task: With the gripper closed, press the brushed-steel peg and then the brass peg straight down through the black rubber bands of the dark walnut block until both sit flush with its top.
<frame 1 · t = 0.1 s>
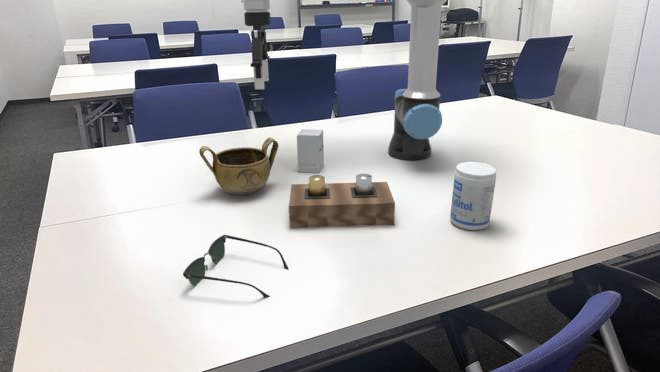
hand: (262, 85, 145), 28 cm above the table, fingers open, 13 cm apart
steel peg: (363, 186, 122), point 8 cm above the table, slide at 0.0 cm
supplement box: (311, 169, 157), on the table
ceramic bowl: (243, 191, 141), on the table
sunglasses: (242, 278, 98), on the table
walnut block: (340, 214, 124), on the table
brass peg: (317, 187, 121), point 8 cm above the table, slide at 0.0 cm
supplement tub: (469, 223, 119), on the table
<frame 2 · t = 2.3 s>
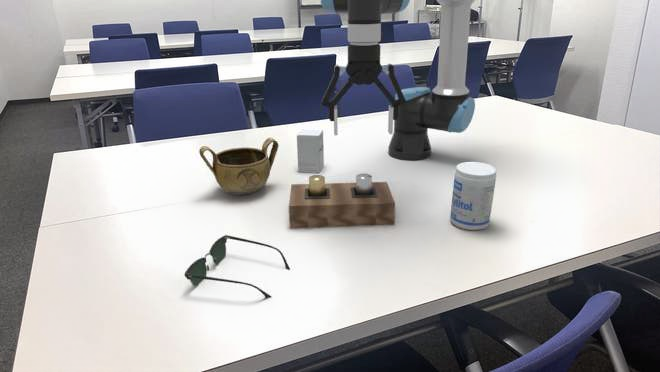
hand: (363, 133, 116), 22 cm above the table, fingers open, 13 cm apart
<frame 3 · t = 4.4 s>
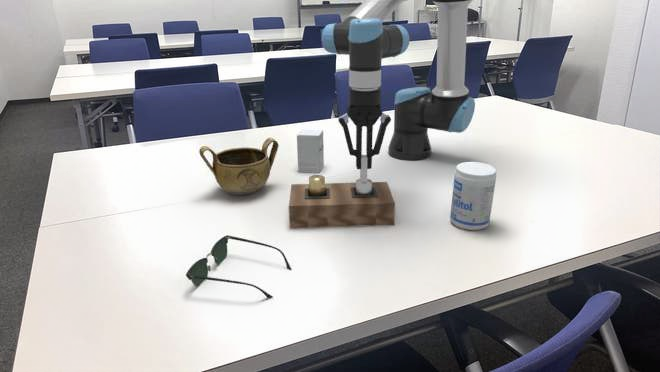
hand: (363, 180, 121), 9 cm above the table, fingers closed
steel peg: (363, 191, 122), point 6 cm above the table, slide at 1.4 cm, touching gripper
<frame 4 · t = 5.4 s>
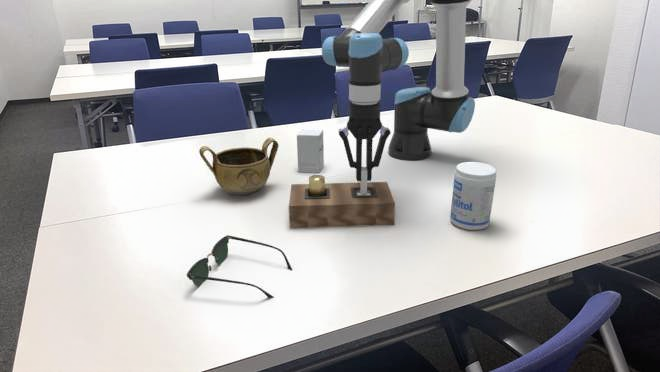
hand: (363, 192, 122), 6 cm above the table, fingers closed
steel peg: (363, 202, 123), point 3 cm above the table, slide at 4.5 cm, touching gripper
everything else where it was.
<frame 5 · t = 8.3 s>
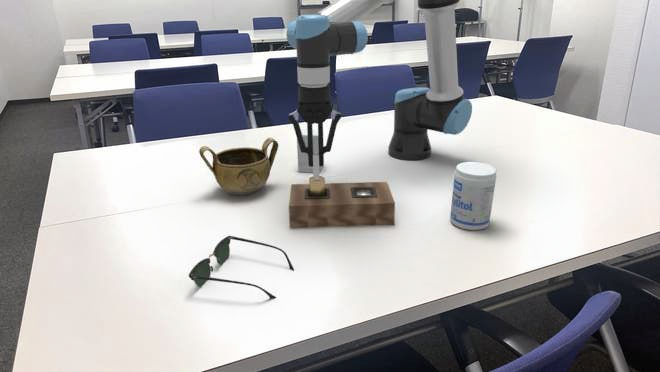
hand: (316, 177, 120), 10 cm above the table, fingers closed
steel peg: (363, 202, 123), point 3 cm above the table, slide at 4.5 cm
brass peg: (317, 188, 121), point 7 cm above the table, slide at 0.3 cm, touching gripper
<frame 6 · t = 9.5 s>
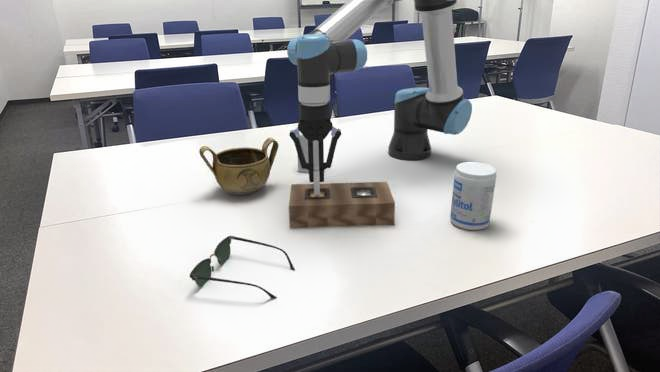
hand: (317, 193, 122), 6 cm above the table, fingers closed
brass peg: (317, 203, 123), point 3 cm above the table, slide at 4.5 cm, touching gripper
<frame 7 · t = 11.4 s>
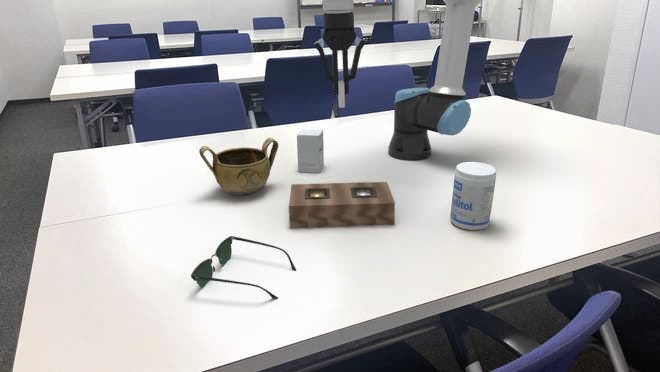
hand: (341, 106, 125), 26 cm above the table, fingers closed
brass peg: (317, 203, 123), point 3 cm above the table, slide at 4.5 cm
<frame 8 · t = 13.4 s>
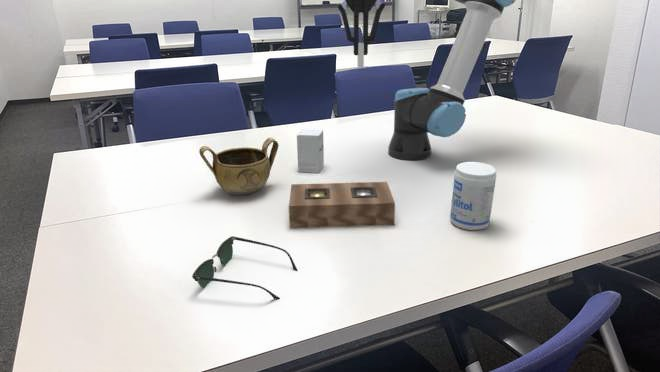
hand: (360, 67, 133), 34 cm above the table, fingers closed
at the end: steel peg slide at 4.5 cm; brass peg slide at 4.5 cm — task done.
